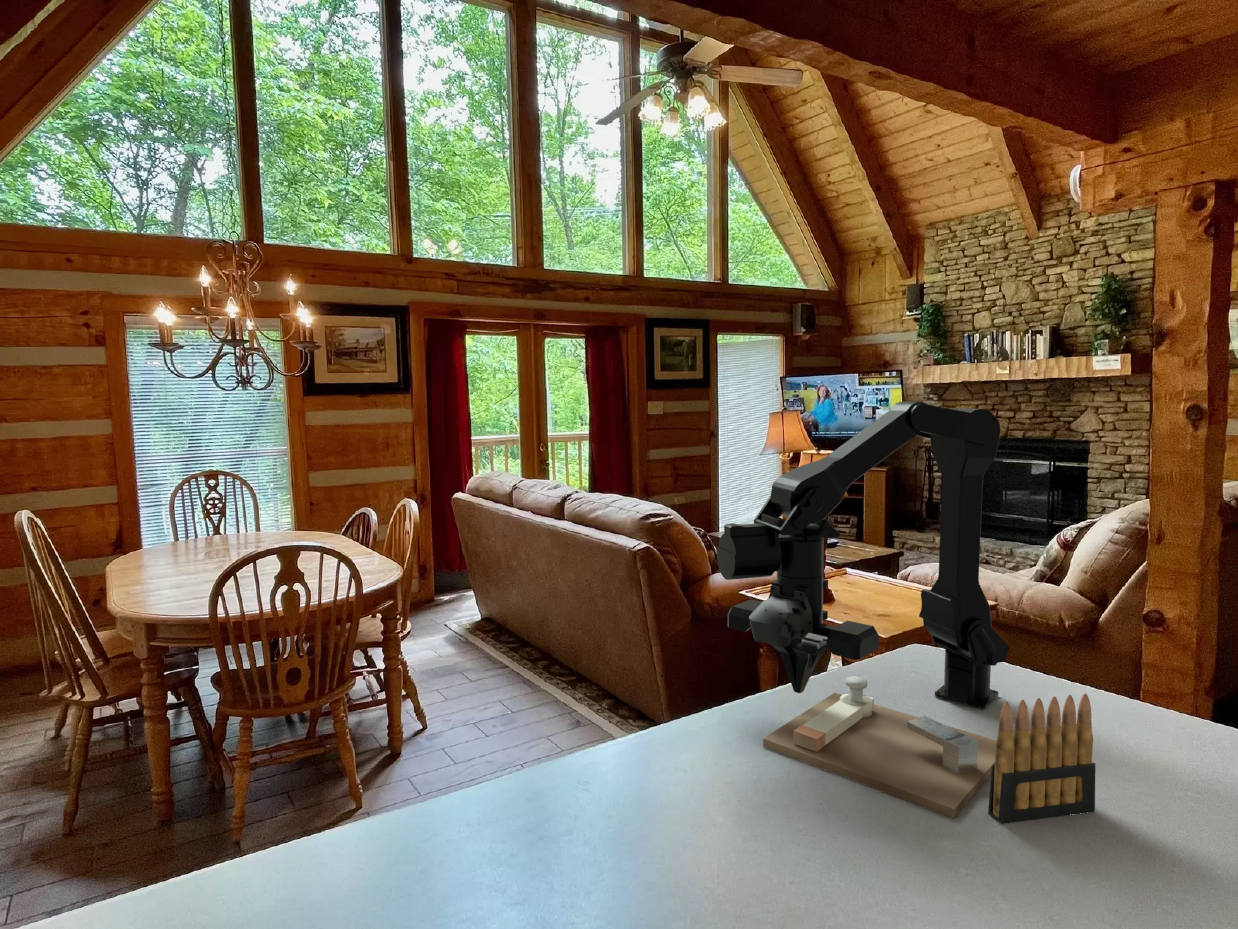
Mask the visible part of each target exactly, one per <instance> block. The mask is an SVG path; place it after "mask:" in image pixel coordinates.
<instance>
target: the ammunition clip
mask: <svg viewBox="0 0 1238 929" xmlns="http://www.w3.org/2000/svg"><path fill="white" fill-rule="evenodd" d="M1060 708H1061V707H1060V703H1059V700H1058V698H1057V697H1056V696H1055V695H1054V696H1053V697H1052V698H1051V700H1050V702H1049V704H1048V710H1047V714H1045V713H1046V712H1045V707H1044V703H1043V701H1042V699H1041V698H1040V697H1037V699H1036V700H1035V702H1034V705H1033V707H1032V713H1031V717H1030V716H1029V709H1028V705H1027V703H1026V700H1025V699H1021V700H1020V702H1019V704H1018V706H1017V710H1016V713H1015V714H1016V715H1015V722H1014V721H1013V712H1012V707H1011V705H1010V702H1009V701H1008V700H1006V701H1004V703H1003V705H1002V708H1001V710H1000V715H999V719H998V730H997V731H998V732H997V736H996V739H995V740H996V750H995V765H992V769H991V775H990V781H989V782H990V784H989V798H988V809H987V814H988V815H989V816H991V817H992V818H993V819H995V821H997V822H998V823H999V824H1000V825H1003V824H1004V825H1005V824H1013V823H1019V822H1027V821H1036V820H1045V819H1051V818H1052V819H1053V818H1059V817H1066V816H1067V815H1068V816H1073V815H1072V814H1076V815H1082V813H1084V814H1089V813H1090V812H1091V813H1095V810H1096V767H1097V766H1096V763H1095V762H1093V752H1094V751H1093V750H1094V735H1093V724H1092V717H1093V716H1092V706H1091V701H1090V698H1089V696H1088V694H1087V693H1083V695H1082V697H1081V699H1080V702H1079V704H1078V709H1077V711H1076V704H1075V701H1074V698H1073V696H1072V695H1071V694H1069V695H1068V696H1067V697H1066V700H1065V702H1064V705H1063V710H1062V714H1061V709H1060ZM1030 718H1031V720H1030ZM1013 724H1014V726H1013ZM1087 812H1088V813H1087ZM1080 813H1081V814H1080ZM1070 814H1071V815H1070ZM1068 816H1067V817H1068Z"/></svg>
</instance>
